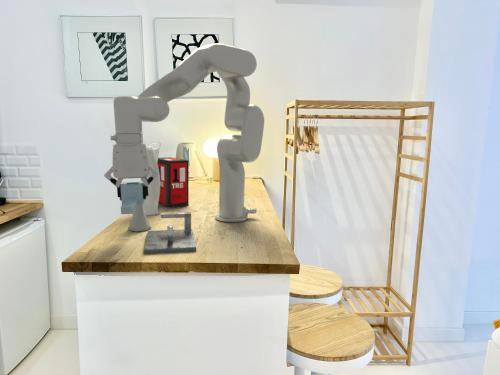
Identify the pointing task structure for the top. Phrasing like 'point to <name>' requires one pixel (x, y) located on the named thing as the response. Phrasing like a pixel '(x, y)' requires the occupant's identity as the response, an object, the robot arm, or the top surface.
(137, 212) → the flask
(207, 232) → the top surface
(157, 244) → the base
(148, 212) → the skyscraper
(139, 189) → the link
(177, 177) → the cleaning product box
